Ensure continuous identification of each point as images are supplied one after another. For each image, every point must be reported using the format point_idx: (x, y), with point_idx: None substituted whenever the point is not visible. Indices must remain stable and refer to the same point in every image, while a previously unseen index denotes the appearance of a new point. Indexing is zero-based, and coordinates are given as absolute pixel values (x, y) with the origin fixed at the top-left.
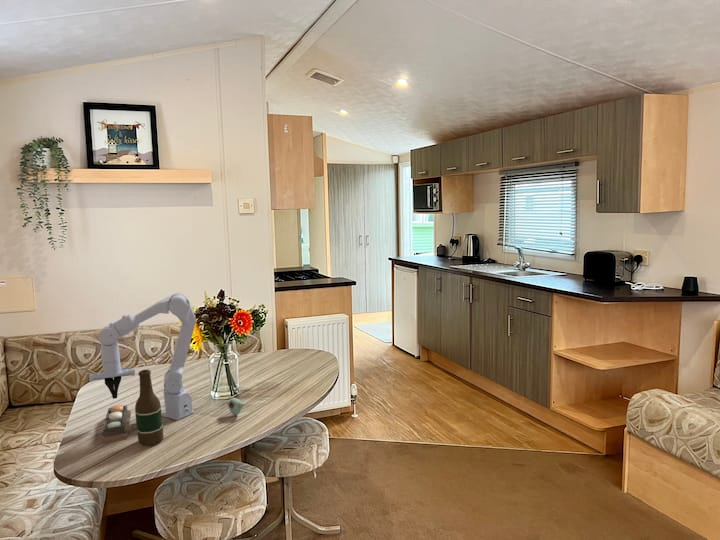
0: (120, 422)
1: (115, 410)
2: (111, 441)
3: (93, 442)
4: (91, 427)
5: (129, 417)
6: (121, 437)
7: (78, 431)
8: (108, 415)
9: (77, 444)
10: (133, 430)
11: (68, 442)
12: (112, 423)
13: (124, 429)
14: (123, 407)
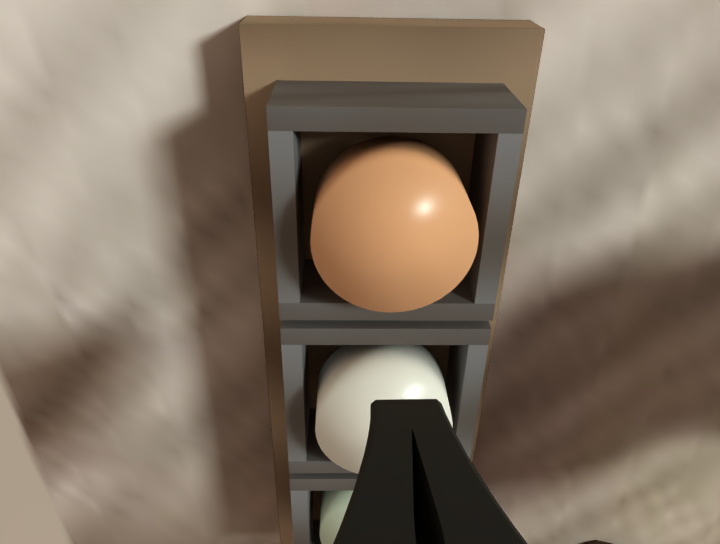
0: None
1: (377, 303)
2: None
3: (229, 493)
4: (130, 232)
5: (505, 262)
6: None
7: (28, 274)
8: (301, 342)
9: (119, 484)
10: (505, 422)
11: (33, 438)
12: None
13: None
14: (472, 130)
